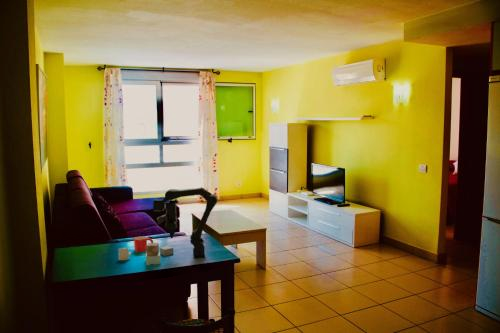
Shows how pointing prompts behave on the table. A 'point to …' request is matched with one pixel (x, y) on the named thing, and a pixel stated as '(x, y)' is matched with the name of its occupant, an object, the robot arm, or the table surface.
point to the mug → (141, 243)
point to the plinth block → (153, 259)
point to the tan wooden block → (166, 250)
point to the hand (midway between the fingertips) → (172, 236)
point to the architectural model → (124, 254)
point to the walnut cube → (152, 249)
